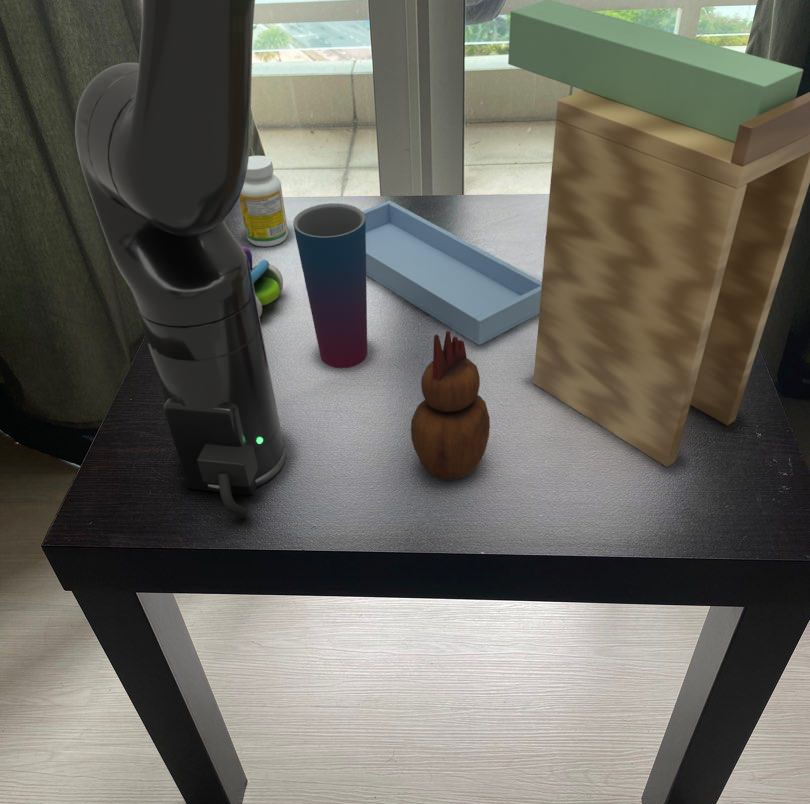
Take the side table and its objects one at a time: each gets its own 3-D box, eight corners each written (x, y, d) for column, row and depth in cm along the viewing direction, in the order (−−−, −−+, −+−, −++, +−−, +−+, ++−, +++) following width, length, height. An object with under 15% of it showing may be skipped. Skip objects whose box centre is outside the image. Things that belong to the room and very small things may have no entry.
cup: (367, 376, 87) (355, 239, 76) (304, 370, 88) (283, 234, 78) (382, 339, 92) (372, 205, 81) (321, 334, 93) (304, 201, 82)
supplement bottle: (283, 248, 106) (271, 172, 99) (242, 247, 107) (227, 171, 100) (292, 227, 110) (282, 153, 103) (253, 226, 111) (239, 152, 104)
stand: (532, 383, 85) (560, 64, 64) (600, 345, 89) (647, 33, 68) (667, 468, 76) (752, 128, 55) (735, 420, 80) (839, 87, 59)
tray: (325, 249, 106) (322, 227, 104) (390, 222, 110) (389, 200, 108) (478, 345, 90) (479, 321, 88) (547, 309, 95) (550, 285, 92)
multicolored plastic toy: (224, 280, 102) (212, 222, 96) (296, 293, 99) (288, 234, 94) (188, 317, 96) (172, 258, 91) (263, 332, 94) (251, 272, 88)
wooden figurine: (434, 499, 74) (432, 355, 64) (403, 461, 78) (395, 320, 67) (499, 471, 77) (507, 328, 66) (465, 436, 80) (467, 295, 69)
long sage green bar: (507, 64, 71) (510, 10, 69) (544, 51, 73) (548, -2, 70) (749, 148, 58) (765, 86, 55) (787, 130, 60) (804, 69, 57)
